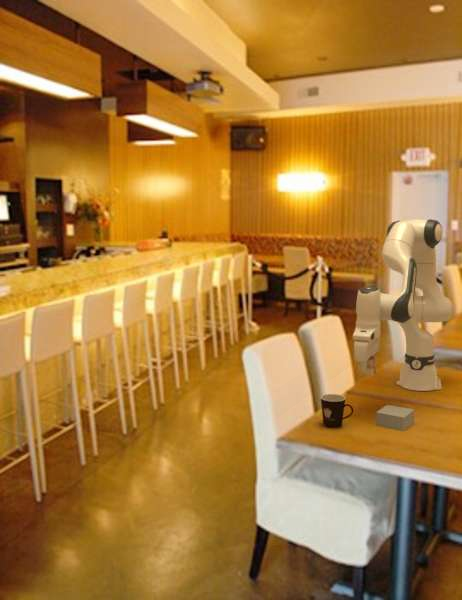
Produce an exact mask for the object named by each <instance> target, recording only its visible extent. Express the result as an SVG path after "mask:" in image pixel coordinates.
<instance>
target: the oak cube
mask: <svg viewBox="0 0 462 600" xmlns="http://www.w3.org/2000/svg"><path fill="white" fill-rule="evenodd" d="M367 365H368V369H367V370H366V371H363V370H362V364H361V362H358V375H359V376H367V377H373V376H374V375H375V374H377V373H376V371H377V357H376V356H374V357H370V358H369V359H368V361H367Z"/></svg>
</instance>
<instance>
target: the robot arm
mask: <svg viewBox="0 0 462 600" xmlns="http://www.w3.org/2000/svg"><path fill="white" fill-rule="evenodd" d="M442 237H443V227H442V224H441V223H440V221H438V220H435V219H424V218H423V219H421V218H417V219H416V218H414V219H407V220H406V219H405V220H395V221H393V222H391V223H390V224H389V226H388V227H387V229H386V238H385V241H384V244H383V246H382V250H381V259H382V262H383V263H384V264H385V265H386V267H388V268H389V269H391V270H393V271H395V272H396V273H398V274H401V275H402V286H401V291H400V293H398V294H397V293H396V294H393V293H390V294H389V293H383V292H381V291H380V288H379V287H377V286H373V285H367V286H362V287H361V288H359V289H358V291H357V297H356V305H355V312H356V320H355V329H354V331H353V334H352V340H353V341H354V342H353V351H354V354H353V355H354V360H355V362H358V363H359V362H361V364H362V370H363V371H366V370H367V369H368V365H367V361H368V359H369V358H370V357H375V354H377V352H379V351H380V337H381V325H382V322H381V320H384V321H393V322H396V323H397V324H399V325H400V327H401V329H402V330H403V332H404V335H405V345H406V346H405V353H404V363H403V364H402V365H401V366H400V376H399V380H397V381H396V382H395V384H396V385H398V386H400V387H402V388H404V389H407V390H410V391H417V392H427V391H428V392H429V391H438V390H442V388H443V387H442V381H441V380H442V379H441V378H440V377H438V376H437V373H438V371H437V370H438V369H437V368H436V365H435V355H434V345H435V344H434V342H435V341H434V336H433V334H431V333H430V332H429V331H427V330H425V329H423V328H421V327H420V325H419V324H420V323H443V322H447V321H449V320H451V318H452V316H453V314H454V304H453V302H452V301H451V300H450V298H449V297H447V296H446V295H445V294H444V293H443V292H442V291H441V289H440V288H439V284H438V282H437V252H436V251H437V250H436V246H437V245H438V244H439V243H440V242H441V240H442ZM416 289H418V290H421V291H422V295H416V294H415V293H416Z"/></svg>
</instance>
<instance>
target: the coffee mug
mask: <svg viewBox="0 0 462 600" xmlns="http://www.w3.org/2000/svg"><path fill="white" fill-rule="evenodd" d="M320 405H321V415H322V421H323V422H322V423H323V426H324V427H326V428H329V429H339V428H341V427H342V426H343V420H345V419H348V418H349V417H351V416H352V415H353V413H354V408H353V406H352V405H350V403H349V404H348V403H346V397H345V396H344V395H341V394H337V393H328V394H323V395H321V396H320ZM346 407H349V408H350V410H351V412H350V413H349V414H348V415H346V416H344V410H345V408H346Z"/></svg>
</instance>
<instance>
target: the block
mask: <svg viewBox="0 0 462 600" xmlns="http://www.w3.org/2000/svg"><path fill="white" fill-rule="evenodd" d="M375 413H376V414H375V426H379V427H382V428H383V427H384V428H386V429H387V428H388V429H393V430H397V431H398V430H399V431H403V432H404V431H405V430H407V429H408V428H409V427H411V425H413V424H414V423H415V409H414V408H413V409H412V408H406V407H401V406H395V405H390V404H386V405H384V406H383V407H382V408H380V409H379V410H378V411H376V412H375Z"/></svg>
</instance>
